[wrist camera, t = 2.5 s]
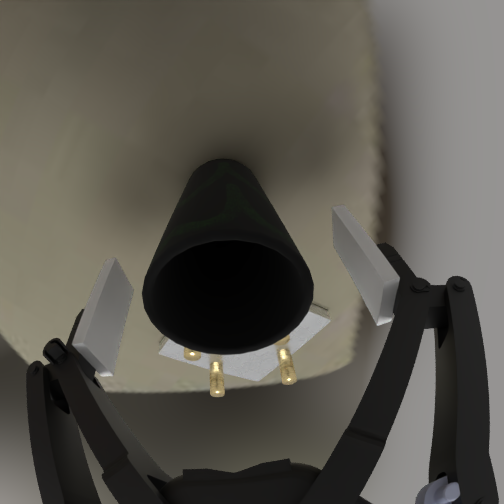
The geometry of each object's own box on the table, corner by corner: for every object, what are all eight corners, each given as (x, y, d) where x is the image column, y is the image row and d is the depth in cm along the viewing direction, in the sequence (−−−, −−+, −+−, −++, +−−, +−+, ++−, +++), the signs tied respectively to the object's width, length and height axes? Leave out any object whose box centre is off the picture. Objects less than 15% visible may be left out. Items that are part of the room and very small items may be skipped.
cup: (289, 201, 24) (339, 311, 14) (214, 249, 25) (216, 371, 16) (233, 125, 19) (251, 193, 10) (153, 185, 21) (108, 294, 12)
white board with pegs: (216, 261, 26) (217, 306, 22) (327, 310, 32) (342, 349, 27) (159, 343, 32) (155, 383, 28) (256, 372, 38) (261, 407, 34)
